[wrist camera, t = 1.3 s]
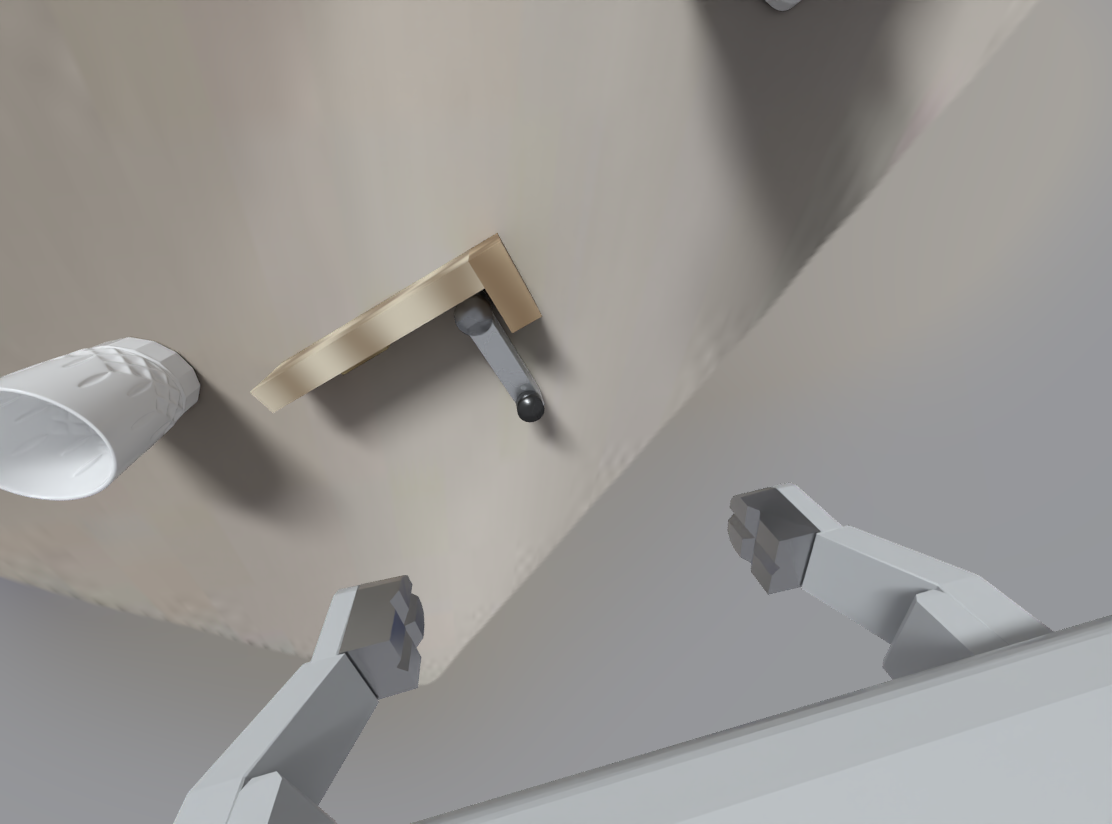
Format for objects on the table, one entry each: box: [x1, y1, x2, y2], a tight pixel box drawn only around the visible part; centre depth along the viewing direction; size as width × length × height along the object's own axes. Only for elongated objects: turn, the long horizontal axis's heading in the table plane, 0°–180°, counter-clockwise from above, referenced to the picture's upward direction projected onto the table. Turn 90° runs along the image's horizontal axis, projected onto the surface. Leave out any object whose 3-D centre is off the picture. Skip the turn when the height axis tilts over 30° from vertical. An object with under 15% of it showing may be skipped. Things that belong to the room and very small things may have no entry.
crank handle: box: [454, 290, 545, 422], centre depth 33 cm, size 11×3×5 cm, turn 29°
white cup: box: [0, 337, 200, 500], centre depth 27 cm, size 8×8×10 cm
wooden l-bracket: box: [250, 233, 542, 413], centre depth 31 cm, size 20×6×6 cm, turn 119°
